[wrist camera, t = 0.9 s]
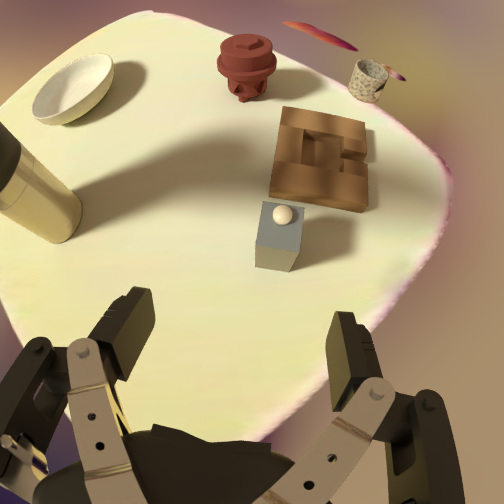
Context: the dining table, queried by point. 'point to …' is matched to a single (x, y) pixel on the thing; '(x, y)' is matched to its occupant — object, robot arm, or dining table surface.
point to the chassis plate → (320, 160)
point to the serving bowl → (73, 90)
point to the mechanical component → (246, 64)
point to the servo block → (278, 236)
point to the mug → (367, 81)
